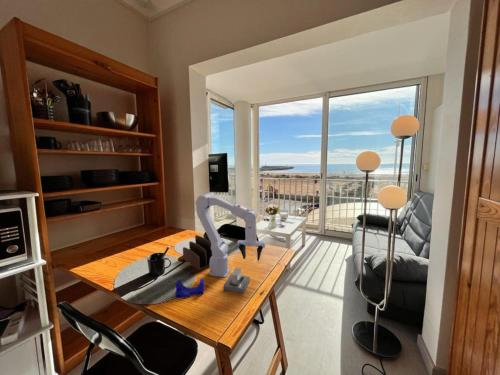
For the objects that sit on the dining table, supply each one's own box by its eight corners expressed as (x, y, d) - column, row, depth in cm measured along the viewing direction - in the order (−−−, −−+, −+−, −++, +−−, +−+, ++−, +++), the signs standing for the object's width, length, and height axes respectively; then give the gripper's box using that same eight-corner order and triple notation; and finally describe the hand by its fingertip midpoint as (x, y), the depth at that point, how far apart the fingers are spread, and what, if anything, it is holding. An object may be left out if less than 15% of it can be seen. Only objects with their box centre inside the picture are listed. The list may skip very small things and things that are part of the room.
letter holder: (197, 253, 136) (196, 233, 134) (214, 264, 122) (213, 241, 120) (182, 259, 129) (181, 237, 127) (199, 271, 115) (198, 247, 113)
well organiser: (223, 290, 97) (223, 285, 97) (231, 278, 107) (230, 274, 107) (243, 293, 95) (243, 288, 94) (249, 281, 104) (249, 276, 104)
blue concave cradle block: (175, 298, 93) (174, 285, 92) (178, 291, 97) (177, 280, 96) (202, 296, 93) (202, 284, 93) (204, 290, 98) (203, 278, 97)
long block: (231, 288, 98) (231, 274, 97) (235, 280, 104) (235, 267, 103) (237, 289, 97) (237, 275, 96) (241, 281, 103) (241, 268, 102)
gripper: (234, 235, 104) (235, 261, 106) (263, 238, 100) (263, 264, 102) (239, 230, 111) (240, 254, 113) (266, 233, 107) (266, 257, 108)
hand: (251, 259), depth 108 cm, fingers open, 7 cm apart
